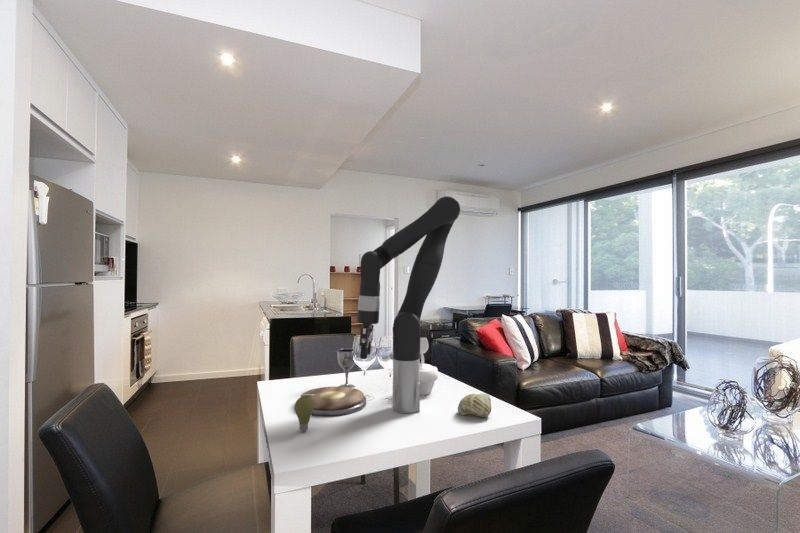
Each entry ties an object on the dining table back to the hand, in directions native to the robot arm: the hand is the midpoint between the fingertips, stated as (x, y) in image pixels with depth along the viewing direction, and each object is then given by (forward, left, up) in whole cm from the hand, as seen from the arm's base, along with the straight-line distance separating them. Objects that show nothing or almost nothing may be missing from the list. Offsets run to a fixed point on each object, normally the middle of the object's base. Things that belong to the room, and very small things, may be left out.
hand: (365, 356), depth 131 cm
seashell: (-37, +4, -18) cm, 41 cm away
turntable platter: (+12, -5, -16) cm, 21 cm away
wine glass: (+10, -27, -18) cm, 34 cm away
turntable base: (+12, -5, -18) cm, 22 cm away
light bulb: (+16, +19, -18) cm, 31 cm away
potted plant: (-21, -20, -18) cm, 34 cm away
